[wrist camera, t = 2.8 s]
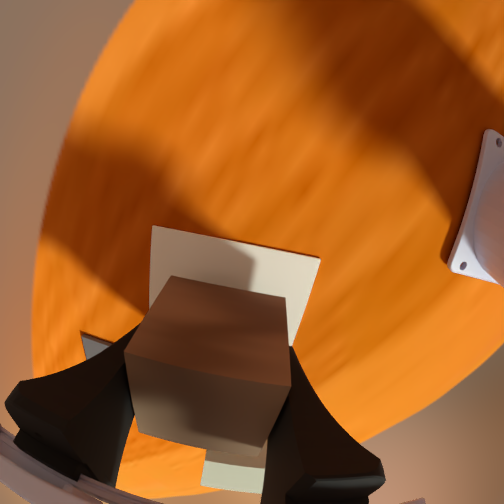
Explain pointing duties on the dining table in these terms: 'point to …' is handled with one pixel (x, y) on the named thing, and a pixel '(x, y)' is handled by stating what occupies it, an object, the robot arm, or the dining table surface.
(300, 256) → the card
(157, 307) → the walnut block
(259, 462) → the sage block
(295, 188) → the dining table surface
